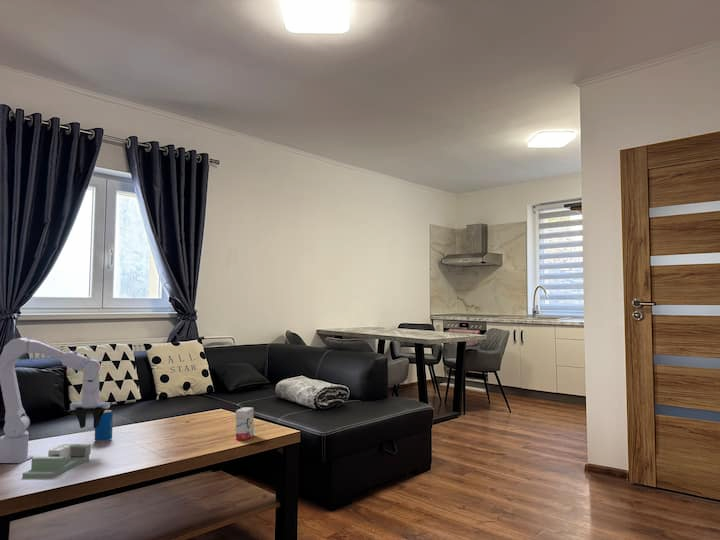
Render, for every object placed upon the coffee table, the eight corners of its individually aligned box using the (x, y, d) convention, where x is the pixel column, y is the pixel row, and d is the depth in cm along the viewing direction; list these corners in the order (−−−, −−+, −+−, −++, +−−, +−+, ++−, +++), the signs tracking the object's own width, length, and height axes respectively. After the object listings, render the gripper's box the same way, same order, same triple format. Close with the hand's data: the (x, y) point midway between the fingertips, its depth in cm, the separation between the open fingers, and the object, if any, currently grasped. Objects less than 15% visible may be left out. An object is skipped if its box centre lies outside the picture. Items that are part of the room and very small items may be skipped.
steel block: (47, 465, 166) (48, 450, 166) (59, 460, 172) (59, 445, 172) (59, 465, 166) (59, 450, 166) (70, 460, 172) (70, 445, 172)
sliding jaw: (56, 457, 175) (57, 447, 175) (63, 453, 179) (64, 444, 179) (84, 457, 175) (84, 447, 175) (90, 453, 178) (90, 444, 179)
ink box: (246, 440, 201) (246, 411, 202) (234, 440, 202) (235, 411, 203) (254, 435, 209) (254, 407, 210) (243, 434, 210) (243, 406, 211)
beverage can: (107, 442, 199) (108, 412, 200) (91, 442, 199) (92, 413, 200) (115, 438, 206) (115, 409, 207) (99, 438, 206) (100, 409, 207)
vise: (22, 478, 158) (23, 462, 158) (62, 459, 178) (62, 445, 178) (52, 478, 158) (53, 462, 158) (88, 459, 177) (89, 445, 178)
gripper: (65, 393, 184) (64, 430, 183) (103, 393, 183) (102, 430, 182) (77, 390, 191) (75, 425, 190) (113, 389, 190) (112, 425, 189)
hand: (89, 427), depth 186 cm, fingers open, 5 cm apart
